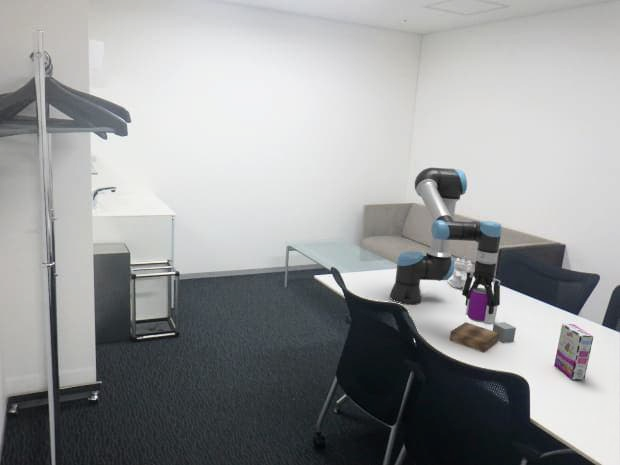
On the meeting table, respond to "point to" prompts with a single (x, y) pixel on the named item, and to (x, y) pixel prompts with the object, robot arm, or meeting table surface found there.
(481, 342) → the walnut block
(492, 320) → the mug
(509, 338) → the grey block
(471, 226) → the robot arm
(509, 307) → the meeting table surface
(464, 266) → the silvery white figurine
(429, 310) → the meeting table surface
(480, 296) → the beverage can
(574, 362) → the candy bar box
